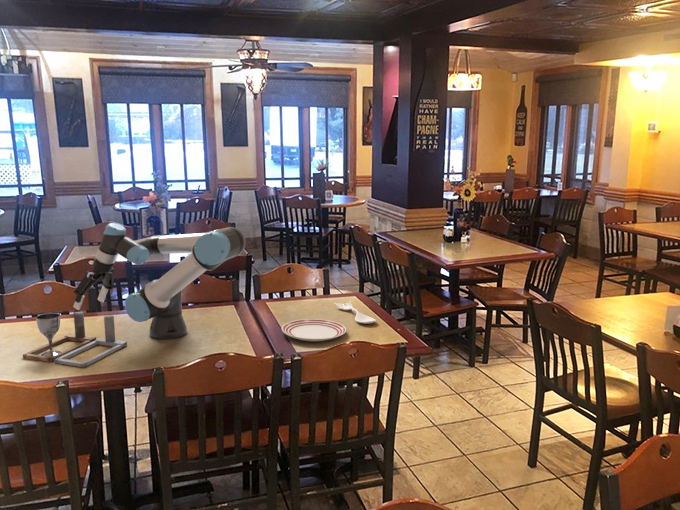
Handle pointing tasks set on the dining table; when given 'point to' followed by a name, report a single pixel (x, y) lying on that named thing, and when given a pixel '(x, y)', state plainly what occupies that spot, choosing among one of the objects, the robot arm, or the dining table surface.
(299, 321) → the dinner plate
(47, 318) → the wine glass
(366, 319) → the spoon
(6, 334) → the dining table surface
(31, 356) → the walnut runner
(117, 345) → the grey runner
